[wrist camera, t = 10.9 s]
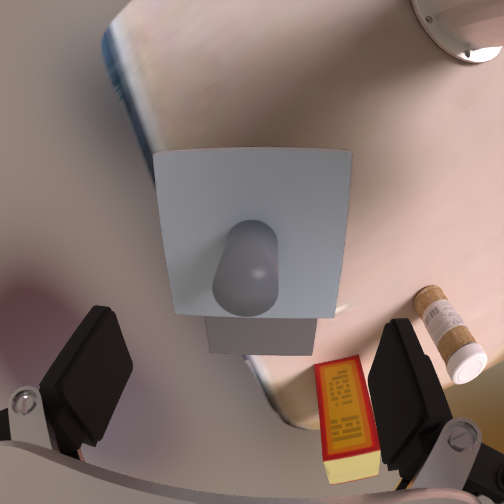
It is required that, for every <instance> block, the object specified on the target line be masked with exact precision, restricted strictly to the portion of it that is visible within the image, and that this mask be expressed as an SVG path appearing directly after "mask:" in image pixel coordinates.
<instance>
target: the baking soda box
mask: <svg viewBox="0 0 504 504" xmlns="http://www.w3.org/2000/svg"><path fill="white" fill-rule="evenodd" d="M314 369H315V378H316V388H317V398H318V408H319V419H320V430H321V442H322V455H323V462H324V466H325V469H326V472H327V475H328V479H329V482H330V485H334V484H340V483H346V482H351V481H356V480H361V479H365V478H370V477H374V476H378V472H379V462H380V451H381V450H380V444H379V439H378V433H377V428H376V424H375V419H374V415H373V410H372V406H371V402H370V398H369V393H368V389H367V385H366V381H365V377H364V373H363V369H362V366H361V362H360V358H359V355H355V356H351V357H347V358H342V359H338V360H333V361H328V362H324V363H319V364H314Z"/></svg>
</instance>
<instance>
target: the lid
mask: <svg viewBox="0 0 504 504" xmlns="http://www.w3.org/2000/svg"><path fill="white" fill-rule="evenodd" d="M153 162H154V173H155V182H156V192H157V200H158V208H159V217H160V224H161V232H162V239H163V245H164V251H165V258H166V264H167V271H168V277H169V283H170V289H171V294H172V300H173V305H174V310H175V314H180V315H199V316H218V317H247V318H334V316H335V309H336V303H337V297H338V290H339V283H340V276H341V269H342V261H343V253H344V244H345V236H346V226H347V216H348V206H349V194H350V181H351V166H352V152H350V151H349V150H343V149H325V148H299V147H227V148H201V149H183V150H168V151H159V152H157V153H155V154H153Z"/></svg>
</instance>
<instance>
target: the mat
mask: <svg viewBox="0 0 504 504" xmlns="http://www.w3.org/2000/svg"><path fill="white" fill-rule="evenodd" d="M205 322H206V330H207V337H208V344H209V351H210V353H223V354H244V355H282V356H312V352H313V345H314V339H315V332H316V324H317V318H247V317H218V316H205Z"/></svg>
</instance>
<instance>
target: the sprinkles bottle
mask: <svg viewBox="0 0 504 504" xmlns="http://www.w3.org/2000/svg"><path fill="white" fill-rule="evenodd" d="M414 308H415V310H416V312H417V313H418V314H419V315H420V317H421V319H422V321H423V323H424V325H425V327H426V329H427V331H428V333H429V334H430V336H431V338H432V340H433V342H434V343H435V345H436V347H437V349H438V351H439V353H440V355H441V357H442V359H443V360H444V362H445V364H446V369H447V372H448V374H449V376H450V378H451V380H452V381H453V382H454V383H455V384H463V383H466V382H469V381H471V380H472V379H474V378H475V377H476V376H477V375H479V374H480V373H481V371H482V370H483V369H484V367H485V365H486V363H487V356H486V354H485V352H484V350H483V349H482V347H481V346H480V345H479V344H478V343H477V342H476V341H475V339H474V338H473V336H472V335H471V333H470V332H469V329H468V328H467V326H466V324H465V323H464V322H463V320H462V319H461V317H460V316H459V314H458V313H457V311H456V310H455V308H454V307H453V305H452V304H451V303H450V302H449V301H448V299H447V298H446V296H445V295H444V294H443V291H442V290H441V288H440V287H438V286H435V285H432V286H428V287H426V288H424V289H422V290H421V291H420V292H419V293H418V295H417V296H416V298H415V300H414Z"/></svg>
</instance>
